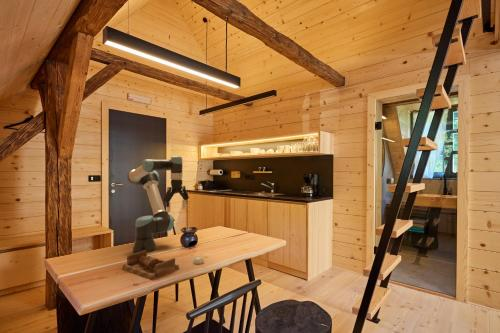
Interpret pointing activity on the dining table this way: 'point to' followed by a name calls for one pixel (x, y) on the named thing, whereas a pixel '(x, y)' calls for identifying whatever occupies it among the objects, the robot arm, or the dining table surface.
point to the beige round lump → (198, 260)
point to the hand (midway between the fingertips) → (176, 210)
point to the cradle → (142, 270)
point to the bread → (148, 262)
